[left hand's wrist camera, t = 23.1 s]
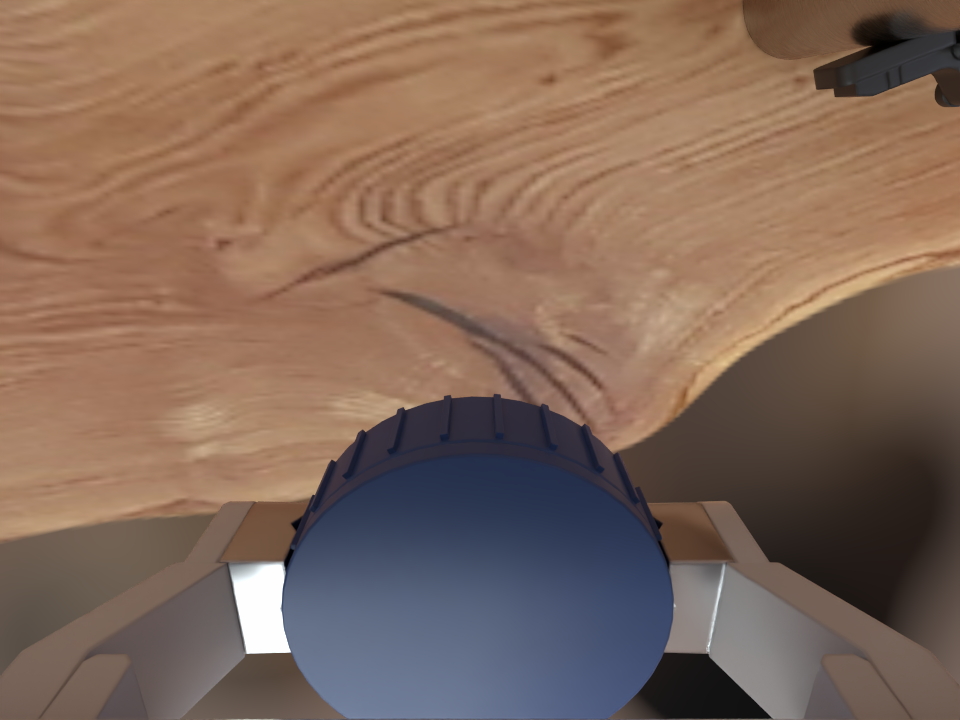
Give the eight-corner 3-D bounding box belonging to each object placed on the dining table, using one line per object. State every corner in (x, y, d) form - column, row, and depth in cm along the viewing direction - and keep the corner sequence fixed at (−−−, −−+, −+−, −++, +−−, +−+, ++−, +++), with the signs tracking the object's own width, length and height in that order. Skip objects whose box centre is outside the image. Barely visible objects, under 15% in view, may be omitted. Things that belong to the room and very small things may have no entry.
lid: (398, 327, 9) (380, 376, 7) (714, 486, 10) (762, 559, 8) (259, 597, 11) (219, 684, 9) (537, 705, 12) (547, 801, 10)
